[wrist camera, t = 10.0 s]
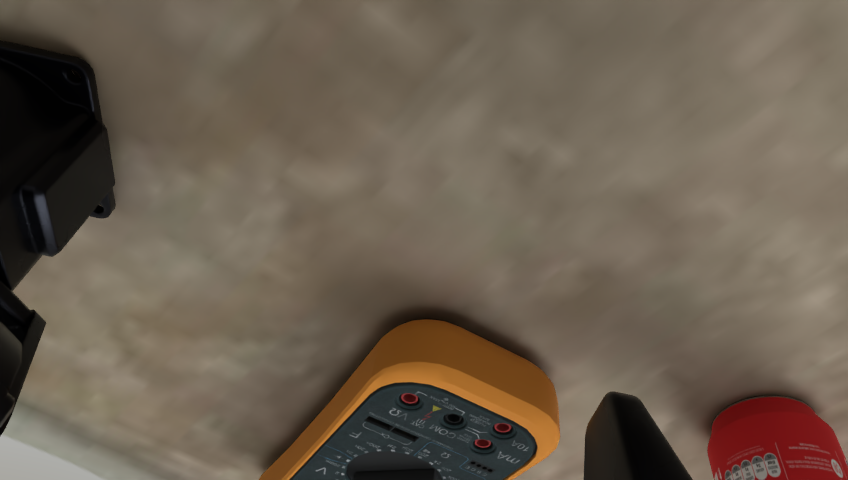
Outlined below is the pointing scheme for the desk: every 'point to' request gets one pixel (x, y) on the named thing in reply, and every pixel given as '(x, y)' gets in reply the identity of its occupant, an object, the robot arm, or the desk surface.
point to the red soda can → (774, 442)
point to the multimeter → (430, 413)
